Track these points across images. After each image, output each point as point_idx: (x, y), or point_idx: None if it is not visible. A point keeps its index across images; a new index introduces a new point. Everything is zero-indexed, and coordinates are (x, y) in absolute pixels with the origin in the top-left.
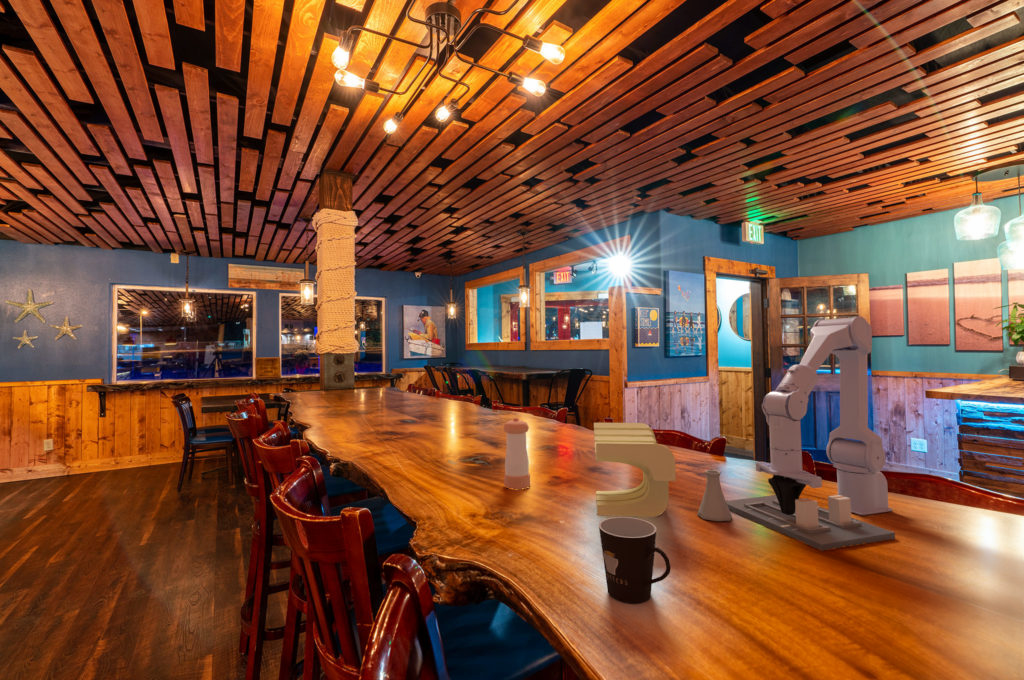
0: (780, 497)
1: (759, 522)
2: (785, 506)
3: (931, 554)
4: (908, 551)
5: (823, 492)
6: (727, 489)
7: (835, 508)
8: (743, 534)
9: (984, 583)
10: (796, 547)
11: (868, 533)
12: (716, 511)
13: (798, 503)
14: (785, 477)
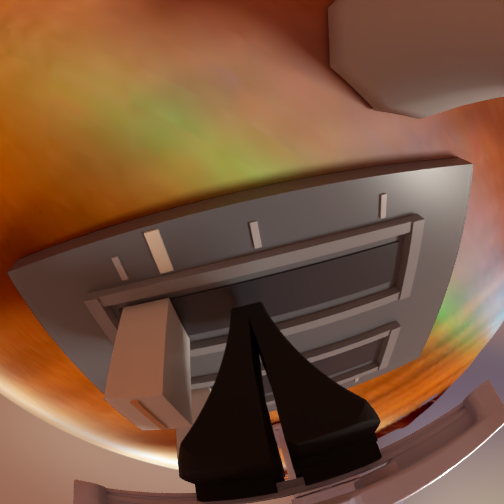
0: (265, 360)
1: (279, 184)
2: (232, 335)
3: (83, 412)
4: (84, 401)
5: (390, 403)
6: (500, 262)
7: (188, 429)
8: (153, 34)
9: (6, 389)
10: (25, 197)
11: None
12: (364, 2)
13: (143, 383)
14: (277, 491)
